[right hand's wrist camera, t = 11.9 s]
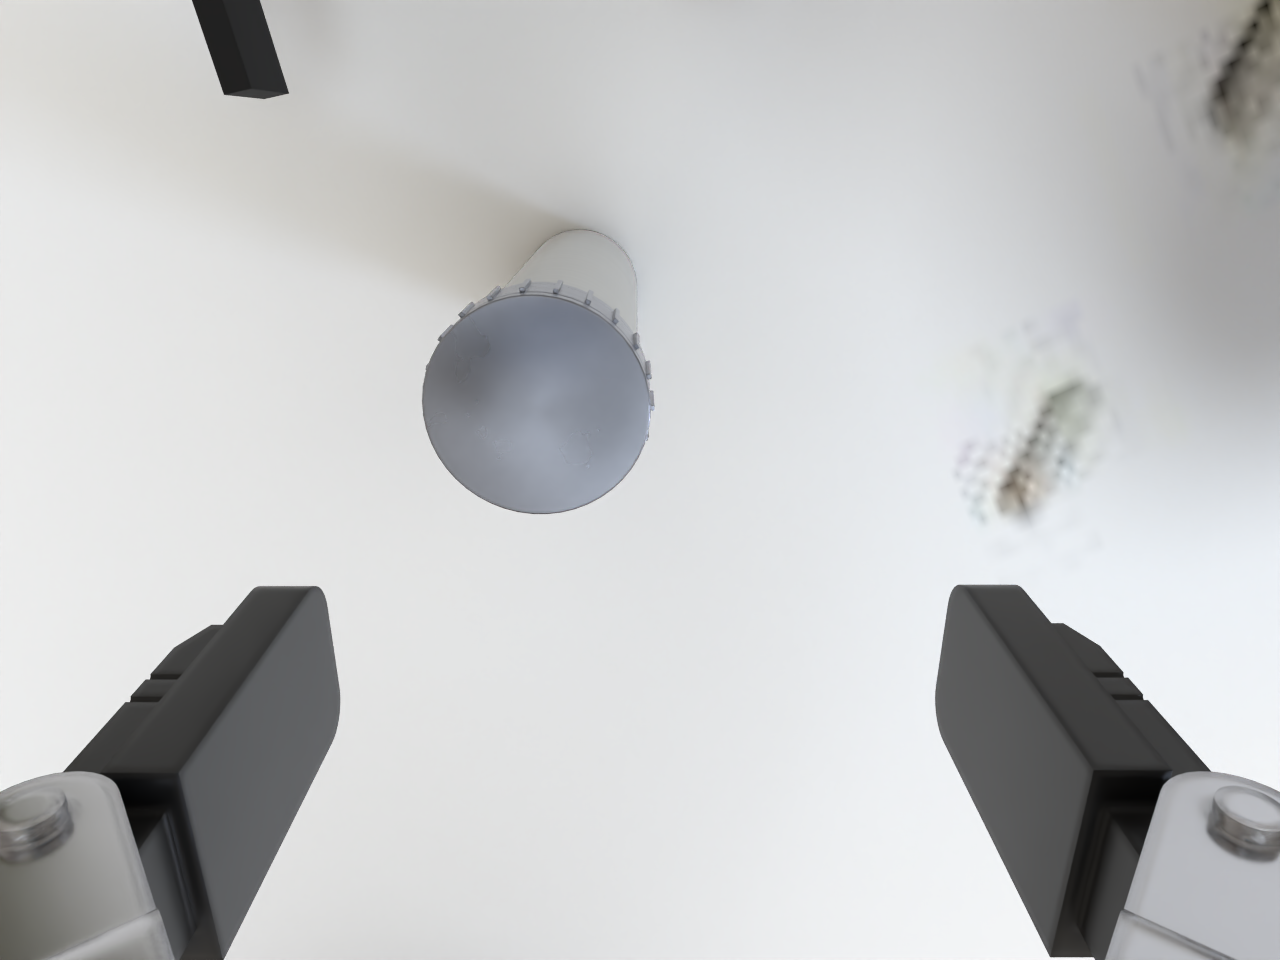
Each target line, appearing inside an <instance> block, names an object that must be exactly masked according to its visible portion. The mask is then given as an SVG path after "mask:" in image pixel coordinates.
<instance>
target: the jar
mask: <svg viewBox="0 0 1280 960" xmlns="http://www.w3.org/2000/svg"><path fill="white" fill-rule="evenodd" d="M526 279H531V282H553V283H557V281H558V280H563V284H565V285H568V286H572V287H575V288H578V289H581V290H583V291H585V292H588V291H589V290H591V291H593V292H594V293H593V296H595V297H597V298H598V299H600V300H602V301H603V302H605V303H606V304H607V305H608V306H610V307H611V308H612V309H615V308H617V309H619V310H620V316H621V317H622V318H623V320H624V321H625V322H626V323H627V325H628V326H629V327H630V329H631V330H632V331H633V333H636V332H637V281H636V275H635V271H634V268H633V265H632V263H631V261H630V259H629V257H628V256H627V254H626V253H625V252H624V250H623V249H622V248H621V247H620V246H619V245H618V244H617V243H615V242H614V241H613V240H612V239H610V238H608V237H607V236H605V235H602V234H600V233H597V232H594V231H589V230H570V231H566V232H562V233H560V234H557V235H555V236H553V237H552V238H550V239H549V240H547V241H546V242H545V243H543V244H542V246H541V247H540V248H539V249H538V250H537V251H536V252H535V253H534V254H533V255H532V257H531V258H530V259H529V260H528V261H527V262H526V263H525V265H524V266H523V267H522V268H521V269H520V270H519V271H518V273H517V274H516V275H515V276H514V277H513V278H512V279H511V281H510V282H509V283H508V284H507V285H506V286H505V287H509V286H512V285H516V284H520V283H523V282H524V281H525V280H526ZM505 287H504V288H505Z"/></svg>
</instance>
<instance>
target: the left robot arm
mask: <svg viewBox="0 0 1280 960" xmlns="http://www.w3.org/2000/svg"><path fill="white" fill-rule="evenodd" d="M192 2H193V4H194V7H195V10H196V13H197V16H198V19H199V22H200V25H201V28H202V31H203V34H204V37H205V40H206V43H207V46H208V49H209V52H210V55H211V57H212V60H213V63H214V66H215V69H216V72H217V75H218V78H219V81H220V84H221V87H222V90H223V93H224V95H232V96H241V97H251V98H260V99H266V98H271V97H275V96H279V95H284V94H288V93H289V92H288V89H287V86H286V82H285V79H284V76H283V73H282V70H281V67H280V63H279V60H278V57H277V54H276V51H275V48H274V44H273V41H272V38H271V35H270V32H269V29H268V25H267V22H266V19H265V16H264V13H263V9H262V6H261V3H260V0H192Z"/></svg>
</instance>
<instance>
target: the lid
mask: <svg viewBox="0 0 1280 960" xmlns="http://www.w3.org/2000/svg"><path fill="white" fill-rule="evenodd" d="M593 293H594V292H593V291H591V290H589V291H588V292H585V291H583V290H581V289H578V288H575V287H572V286H568V285H565V284H563V280H558V281H557V283H553V282H531V279H526V280H525V281H524V282H523V283H520V284H516V285H512V286H509V287H505V288H503V289H501V288H500V286H498V287H495V288H494V289H493V290H492V291H491V293H490V294H489V295H488V296H486V297H485V298H483V299H481V300H480V301H479V302H478V303H476V304H474V303H473V302H471V303H470V304H469V305H468V306H467V307H466V308H465V309H464V310H463V311H462V312H461V313H460V314H459V316H460V317H461V318H460V319H459V320H458V321H457V322H456V324H455V325H454V326H453V325H450V326H449V327H448V328H447V329H446V330H445V331H444V332H443V333H442V334H441V336H440V337H439V338H438V341H440V343H439V344H438V345H437V347H436V349H435V351H434V353H433V355H432V357H431V359H430V362H429V363H428V364H427V366H426V374H425V379H424V384H423V394H422V406H423V416H424V421H425V426H426V430H427V433H428V436H429V438H430V441H431V444H432V446H433V448H434V449H435V451H436V453H437V455H438V457H439V458H440V460H441V461H442V463H443V464H444V466H445V467H446V468H447V470H448V471H449V472H450V473H451V474H452V475H453V476H454V478H455V479H456V480H458V481H459V482H460V483H461V484H462V485H463V486H464V487H465V488H467V489H468V490H470V491H471V492H472V493H474V494H475V495H477V496H478V497H480V498H482V499H484V500H486V501H488V502H490V503H492V504H494V505H497V506H499V507H502V508H505V509H509V510H513V511H516V512H522V513H530V514H551V513H560V512H565V511H569V510H573V509H577V508H579V507H582V506H585V505H587V504H589V503H591V502H593V501H595V500H597V499H599V498H601V497H602V496H604V495H605V494H606V493H608V492H609V491H611V490H612V489H613V488H614V487H615V486H616V485H617V484H619V483H620V482H621V481H622V480H623V479H624V477H625V476H626V475H627V474H628V473H629V471H630V470H631V469H632V467H633V466H634V464H635V462H636V461H637V459H638V458H639V455H640V453H641V451H642V449H643V446H644V444H645V441H647V440H648V437H649V433H648V429H649V423H650V410H654V395H653V391H650V384H649V379H651V364H650V361H646V360H645V356H644V354H643V351H642V349H641V346H640V344H639V334H638V333H637V332H636V333H633V331H632V330H631V329H630V327H629V326H628V325H627V323H626V322H625V321H624V320H623V318H622V317H621V316H620V310H619V309H617V308H615V309H612V308H611V307H610V306H608V305H607V304H606V303H605V302H603V301H602V300H600V299H598V298H597V297H595V296H593Z"/></svg>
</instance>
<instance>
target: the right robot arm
mask: <svg viewBox="0 0 1280 960" xmlns="http://www.w3.org/2000/svg"><path fill="white" fill-rule="evenodd" d="M935 705H936V716H937V722H938V726H939V730H940V734H941V737H942V739H943V741H944V743H945V745H946V747H947V749H948V751H949V753H950V755H951V757H952V759H953V761H954V764H955V766H956V768H957V770H958V772H959V774H960V776H961V778H962V780H963V782H964V784H965V786H966V788H967V790H968V792H969V794H970V796H971V798H972V800H973V802H974V804H975V806H976V808H977V810H978V812H979V814H980V816H981V818H982V820H983V822H984V824H985V826H986V828H987V830H988V832H989V834H990V836H991V838H992V840H993V842H994V844H995V847H996V849H997V851H998V853H999V855H1000V857H1001V859H1002V861H1003V863H1004V865H1005V867H1006V869H1007V871H1008V873H1009V875H1010V877H1011V879H1012V881H1013V883H1014V885H1015V887H1016V889H1017V891H1018V893H1019V895H1020V897H1021V899H1022V901H1023V903H1024V905H1025V907H1026V909H1027V911H1028V913H1029V915H1030V917H1031V919H1032V921H1033V923H1034V925H1035V927H1036V930H1037V932H1038V934H1039V936H1040V938H1041V940H1042V942H1043V944H1044V946H1045V948H1046V950H1047V952H1048V954H1049V956H1050V957H1094V958H1095V960H1280V792H1279V791H1277V790H1274V789H1272V788H1270V787H1268V786H1265V785H1263V784H1260V783H1258V782H1255V781H1252V780H1249V779H1246V778H1242V777H1239V776H1234V775H1230V774H1225V773H1218V772H1211V771H1210V770H1209V768H1208V767H1207V766H1206V765H1205V764H1204V763H1203V762H1202V761H1201V759H1200V758H1199V757H1198V756H1197V755H1196V754H1195V753H1194V752H1193V750H1192V749H1191V748H1190V747H1189V746H1188V745H1187V744H1186V742H1185V741H1184V740H1183V739H1182V738H1181V737H1180V736H1179V735H1178V733H1177V732H1176V731H1175V730H1174V729H1173V728H1172V727H1171V726H1170V724H1169V723H1168V722H1167V721H1166V720H1165V719H1164V718H1163V717H1162V715H1161V714H1160V713H1159V712H1158V711H1157V710H1156V709H1155V707H1154V706H1153V705H1152V704H1151V703H1150V702H1149V701H1148V700H1143V694H1142V693H1141V692H1140V691H1139V689H1138V688H1137V687H1136V686H1135V685H1134V684H1133V683H1132V682H1131V680H1130V679H1129V678H1124V676H1123V671H1122V670H1121V669H1120V668H1119V667H1118V666H1117V665H1116V663H1115V662H1114V661H1113V660H1112V659H1111V658H1110V657H1109V656H1108V654H1107V653H1106V652H1105V651H1104V650H1103V649H1102V648H1101V647H1100V646H1099V645H1098V644H1096V643H1094V642H1093V641H1091V640H1089V639H1088V638H1086V637H1085V636H1083V635H1081V634H1080V633H1078V632H1077V631H1075V630H1073V629H1072V628H1070V627H1068V626H1067V625H1065V624H1064V623H1051V622H1050V621H1049V620H1048V619H1047V618H1046V616H1045V615H1044V614H1043V613H1042V611H1041V610H1040V609H1039V608H1038V607H1037V605H1036V604H1035V603H1034V602H1033V601H1032V599H1031V598H1030V597H1029V596H1028V595H1027V593H1026V592H1025V591H1024V590H1023V589H1022V588H1021V587H1020V586H1018V585H957V586H956V587H954V589H953V590H952V592H951V595H950V598H949V602H948V608H947V615H946V622H945V629H944V635H943V642H942V649H941V656H940V663H939V670H938V677H937V684H936V693H935ZM339 713H340V689H339V682H338V675H337V668H336V662H335V655H334V648H333V641H332V634H331V628H330V621H329V614H328V607H327V602H326V598H325V595H324V593H323V591H322V590H321V589H320V588H319V587H317V586H259V587H256V588H254V589H253V590H252V591H251V592H250V593H249V595H248V596H247V597H246V598H245V599H244V600H243V602H242V603H241V604H240V605H239V606H238V608H237V609H236V610H235V611H234V612H233V614H232V615H231V616H230V617H229V618H228V620H227V621H226V622H225V623H224V624H223V625H210V626H209V627H207V628H206V629H204V630H202V631H201V632H199V633H197V634H196V635H194V636H193V637H191V638H189V639H188V640H186V641H184V642H183V643H181V644H179V645H178V646H176V647H175V648H174V649H173V650H172V651H171V652H170V653H169V654H168V655H167V656H166V658H165V659H164V660H163V661H162V662H161V663H160V664H159V665H158V666H157V668H156V669H155V670H154V671H153V672H152V673H151V678H150V680H145V681H144V682H143V683H142V684H141V685H140V687H139V688H138V689H137V690H136V691H135V692H134V693H133V694H132V696H131V701H130V702H125V703H124V705H123V706H122V707H121V708H120V709H119V710H118V711H117V712H116V713H115V715H114V716H113V717H112V718H111V719H110V720H109V721H108V722H107V724H106V725H105V726H104V727H103V728H102V729H101V730H100V731H99V732H98V734H97V735H96V736H95V737H94V738H93V739H92V740H91V741H90V743H89V744H88V745H87V746H86V747H85V748H84V749H83V750H82V751H81V753H80V754H79V755H78V756H77V757H76V758H75V759H74V760H73V762H72V763H71V764H70V765H69V766H68V767H67V768H66V769H65V771H64V772H62V773H55V774H50V775H46V776H41V777H38V778H34V779H31V780H28V781H25V782H22V783H20V784H17V785H15V786H12V787H10V788H8V789H6V790H3V791H1V792H0V960H224V958H225V956H226V954H227V952H228V950H229V948H230V946H231V944H232V942H233V940H234V938H235V936H236V934H237V932H238V930H239V928H240V926H241V924H242V922H243V920H244V918H245V916H246V914H247V912H248V910H249V908H250V906H251V904H252V902H253V900H254V898H255V896H256V894H257V892H258V890H259V888H260V886H261V884H262V882H263V880H264V878H265V876H266V874H267V872H268V870H269V868H270V866H271V864H272V862H273V860H274V858H275V856H276V854H277V852H278V850H279V848H280V846H281V844H282V842H283V840H284V838H285V836H286V834H287V832H288V830H289V828H290V826H291V824H292V822H293V820H294V818H295V816H296V814H297V812H298V810H299V808H300V806H301V804H302V802H303V800H304V798H305V796H306V794H307V792H308V790H309V788H310V786H311V784H312V782H313V780H314V778H315V776H316V774H317V772H318V770H319V768H320V766H321V764H322V762H323V760H324V758H325V756H326V754H327V752H328V750H329V748H330V746H331V744H332V742H333V739H334V737H335V734H336V730H337V726H338V721H339Z"/></svg>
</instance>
